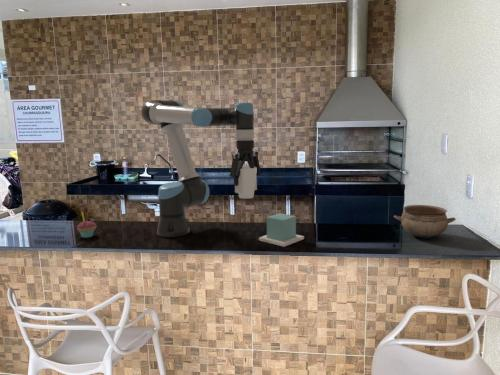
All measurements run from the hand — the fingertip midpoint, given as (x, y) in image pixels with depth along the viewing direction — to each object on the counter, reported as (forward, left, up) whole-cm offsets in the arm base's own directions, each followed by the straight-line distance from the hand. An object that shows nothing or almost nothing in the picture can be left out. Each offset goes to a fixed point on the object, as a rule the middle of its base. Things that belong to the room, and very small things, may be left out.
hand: (246, 191), depth 176 cm
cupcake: (-60, -45, -21) cm, 78 cm away
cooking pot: (+58, +51, -21) cm, 80 cm away
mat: (+13, +8, -21) cm, 26 cm away
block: (+13, +8, -20) cm, 25 cm away
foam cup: (0, 0, -3) cm, 3 cm away
